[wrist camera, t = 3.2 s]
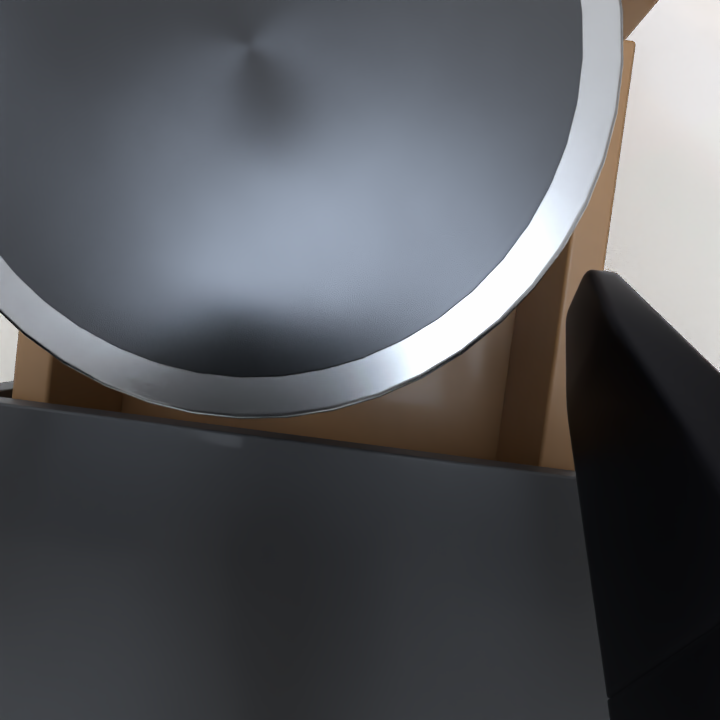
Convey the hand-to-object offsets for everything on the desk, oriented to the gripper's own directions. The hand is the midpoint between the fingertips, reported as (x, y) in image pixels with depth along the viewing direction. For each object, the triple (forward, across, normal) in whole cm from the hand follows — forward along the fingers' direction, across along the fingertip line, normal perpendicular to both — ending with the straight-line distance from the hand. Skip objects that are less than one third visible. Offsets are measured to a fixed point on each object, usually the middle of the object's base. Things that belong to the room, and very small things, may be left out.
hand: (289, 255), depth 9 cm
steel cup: (+6, 0, +4) cm, 7 cm away
